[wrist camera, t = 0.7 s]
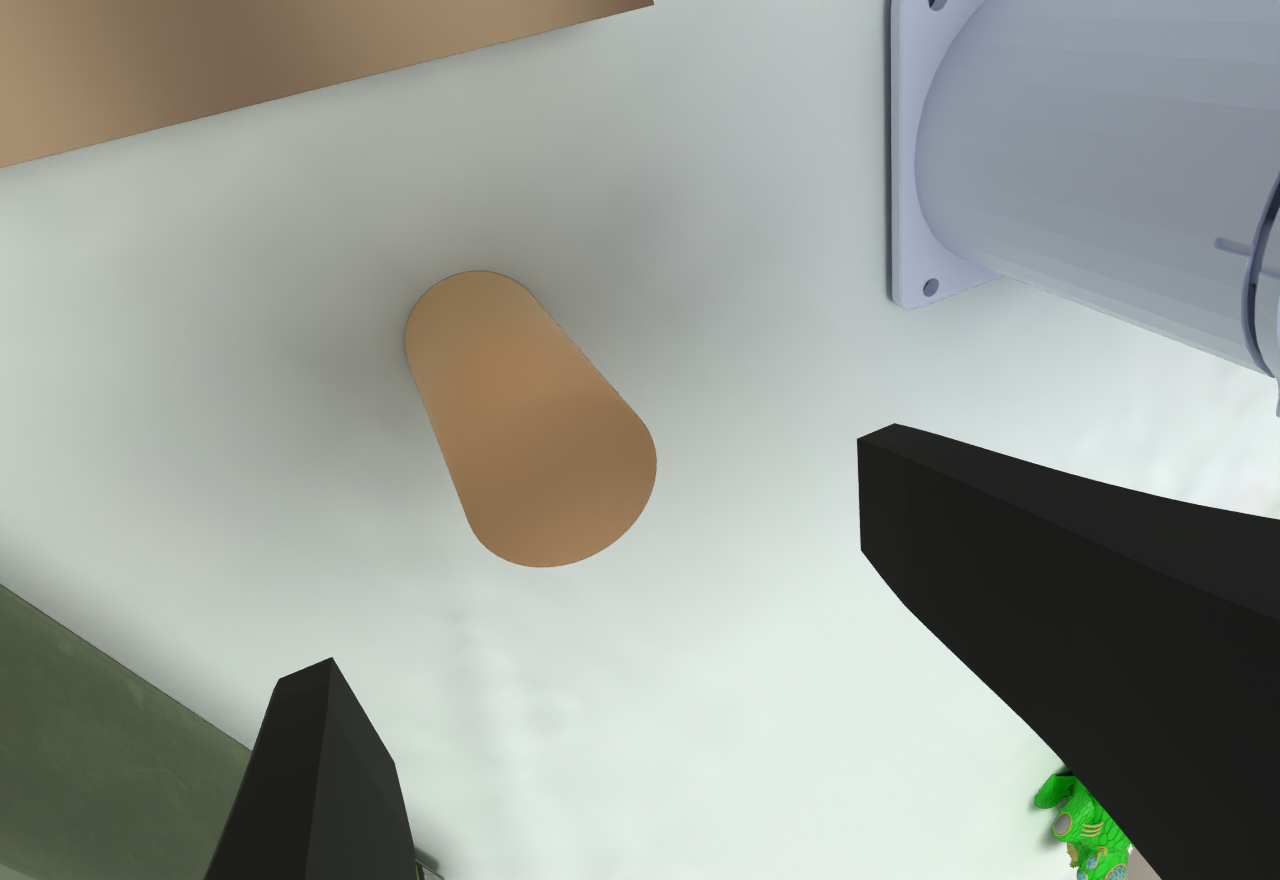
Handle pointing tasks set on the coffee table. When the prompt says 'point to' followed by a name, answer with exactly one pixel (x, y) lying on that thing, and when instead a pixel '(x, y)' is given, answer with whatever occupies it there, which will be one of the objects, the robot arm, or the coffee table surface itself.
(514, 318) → the tan peg
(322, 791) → the robot arm
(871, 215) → the coffee table surface
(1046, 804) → the crocodile figurine
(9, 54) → the walnut hole plate
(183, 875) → the handheld radio
